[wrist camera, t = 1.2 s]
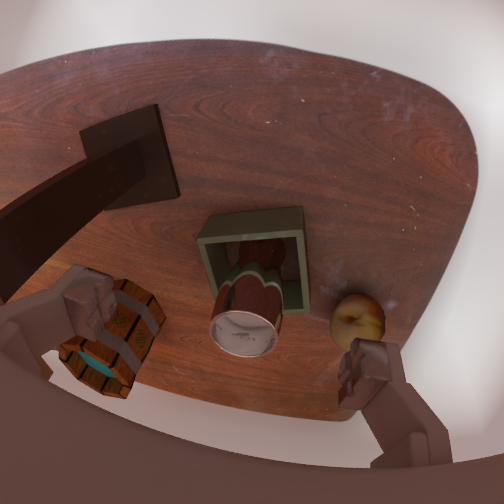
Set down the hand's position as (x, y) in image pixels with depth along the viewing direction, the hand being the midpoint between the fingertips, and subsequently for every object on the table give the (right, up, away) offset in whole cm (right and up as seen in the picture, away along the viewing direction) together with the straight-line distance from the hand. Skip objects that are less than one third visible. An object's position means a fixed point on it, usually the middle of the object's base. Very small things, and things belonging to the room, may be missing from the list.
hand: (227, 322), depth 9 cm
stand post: (-15, +14, +26) cm, 33 cm away
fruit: (+16, -5, +33) cm, 37 cm away
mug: (-23, -7, +41) cm, 48 cm away
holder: (+2, +2, +30) cm, 31 cm away
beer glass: (+2, +2, +31) cm, 31 cm away
